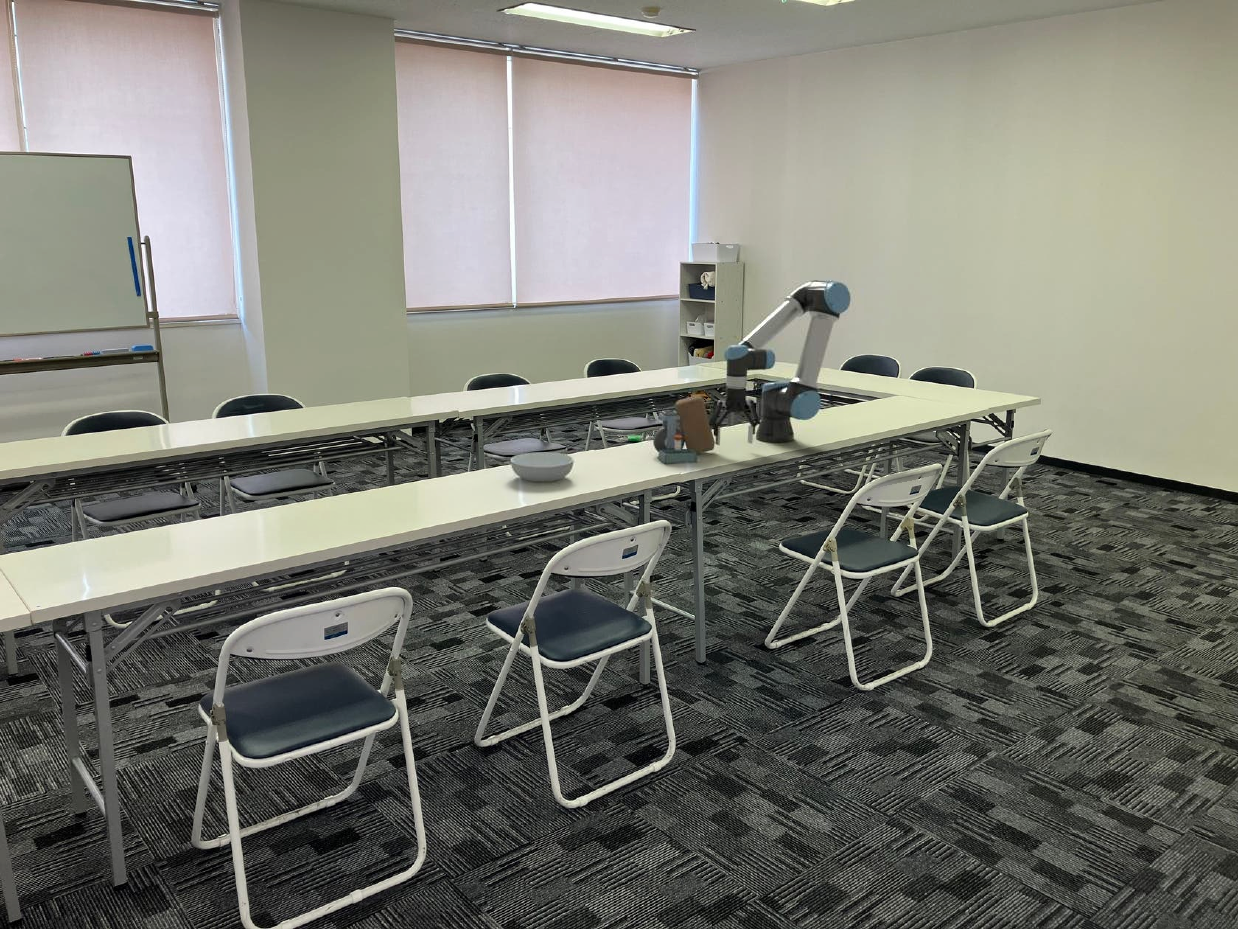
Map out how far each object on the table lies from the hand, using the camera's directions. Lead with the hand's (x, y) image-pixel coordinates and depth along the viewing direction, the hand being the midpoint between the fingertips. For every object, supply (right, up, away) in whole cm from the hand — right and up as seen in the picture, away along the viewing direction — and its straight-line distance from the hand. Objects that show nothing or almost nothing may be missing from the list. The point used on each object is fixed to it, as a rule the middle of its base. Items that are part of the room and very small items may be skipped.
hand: (733, 443), depth 349 cm
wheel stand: (-25, -5, -6) cm, 26 cm away
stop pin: (-22, -6, -14) cm, 27 cm away
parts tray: (-22, -7, -14) cm, 27 cm away
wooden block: (-12, -3, -2) cm, 13 cm away
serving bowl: (-69, -13, -41) cm, 81 cm away
